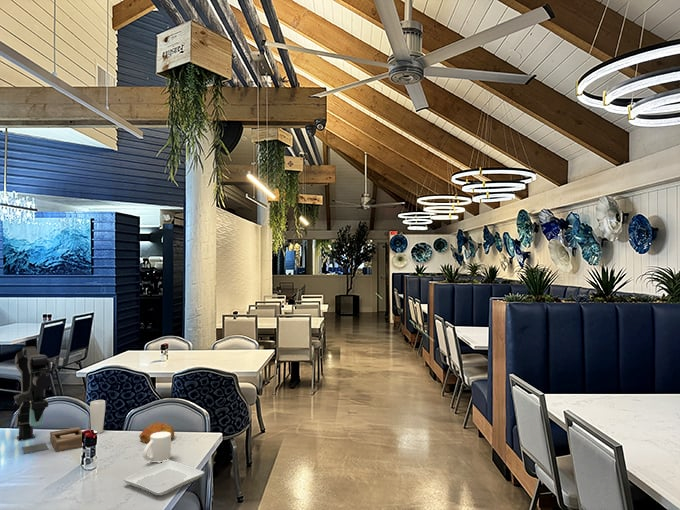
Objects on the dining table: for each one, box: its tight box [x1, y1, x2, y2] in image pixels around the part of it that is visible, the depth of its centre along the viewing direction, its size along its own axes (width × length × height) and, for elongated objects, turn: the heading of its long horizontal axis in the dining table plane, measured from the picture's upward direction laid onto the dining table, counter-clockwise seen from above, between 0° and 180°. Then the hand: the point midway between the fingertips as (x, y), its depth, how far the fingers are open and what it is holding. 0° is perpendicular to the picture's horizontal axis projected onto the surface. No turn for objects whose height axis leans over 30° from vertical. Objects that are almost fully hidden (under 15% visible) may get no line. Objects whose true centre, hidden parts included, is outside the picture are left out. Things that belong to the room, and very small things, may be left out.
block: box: [29, 408, 44, 427], centre depth 214 cm, size 4×4×7 cm
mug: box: [142, 432, 172, 462], centre depth 201 cm, size 8×10×12 cm
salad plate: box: [122, 459, 205, 496], centre depth 180 cm, size 21×21×3 cm
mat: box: [21, 442, 49, 455], centre depth 213 cm, size 9×9×1 cm
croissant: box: [138, 422, 175, 444], centre depth 228 cm, size 14×16×8 cm
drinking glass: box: [89, 399, 106, 435], centre depth 235 cm, size 7×7×15 cm
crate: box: [49, 426, 83, 453], centre depth 219 cm, size 16×12×5 cm
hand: (36, 420), depth 214 cm, fingers closed on block, 4 cm apart
